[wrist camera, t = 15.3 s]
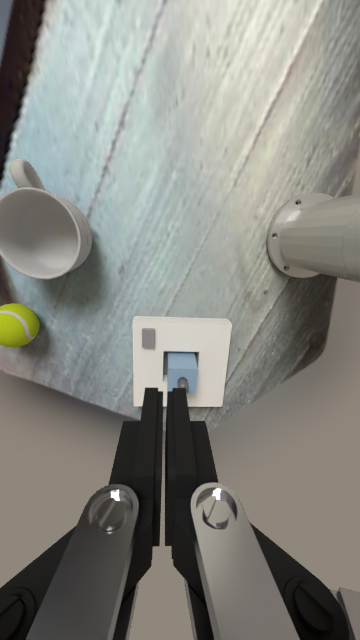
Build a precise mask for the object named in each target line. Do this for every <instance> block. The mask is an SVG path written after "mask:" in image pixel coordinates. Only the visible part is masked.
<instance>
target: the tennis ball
mask: <svg viewBox="0 0 360 640" xmlns="http://www.w3.org/2000/svg"><path fill="white" fill-rule="evenodd" d="M38 331H39V320H38V317H37V315H36V314H35V313H34V312H33V311H32V310H31V309H30V308H28V307H26V306H24V305H21V304H7V305H3V306H1V307H0V345H3V346H7V347H19V346H23V345H26V344H28V343H29V342H31V341H32V340H33V339H34V338H35V336H36V335H37V333H38Z"/></svg>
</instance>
